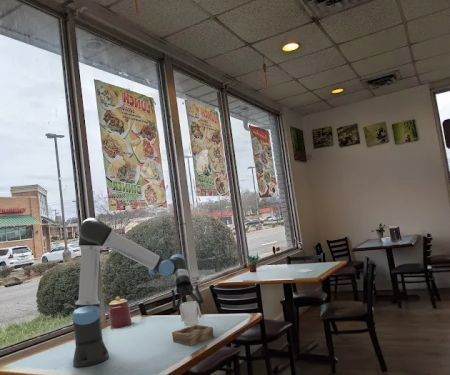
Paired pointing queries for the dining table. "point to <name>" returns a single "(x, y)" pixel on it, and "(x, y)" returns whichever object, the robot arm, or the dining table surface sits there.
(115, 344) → the dining table surface
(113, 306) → the canister
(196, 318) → the white cup
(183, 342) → the brown wooden tray
